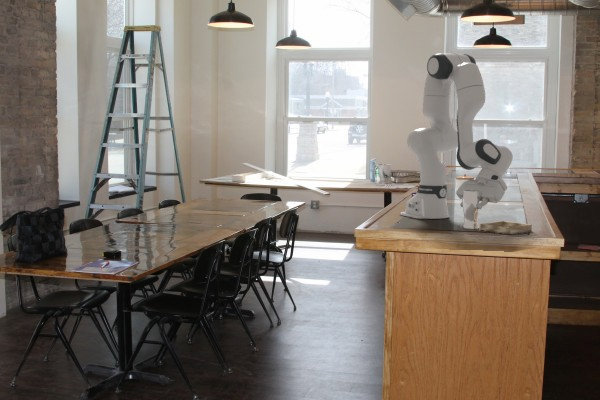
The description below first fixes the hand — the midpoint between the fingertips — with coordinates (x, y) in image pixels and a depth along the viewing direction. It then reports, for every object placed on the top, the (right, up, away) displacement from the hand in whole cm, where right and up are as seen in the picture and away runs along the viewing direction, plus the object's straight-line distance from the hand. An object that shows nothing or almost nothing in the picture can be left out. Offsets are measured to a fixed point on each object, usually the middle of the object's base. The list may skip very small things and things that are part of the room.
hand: (470, 207), depth 293 cm
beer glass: (+1, -9, +1) cm, 9 cm away
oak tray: (+12, -9, -6) cm, 17 cm away
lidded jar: (+31, +9, +150) cm, 153 cm away
